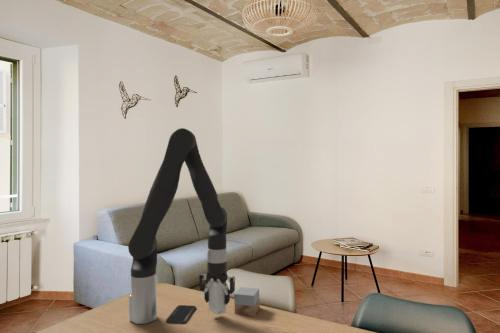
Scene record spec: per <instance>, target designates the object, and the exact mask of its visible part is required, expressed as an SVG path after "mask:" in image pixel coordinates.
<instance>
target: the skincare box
mask: <svg viewBox="0 0 500 333" xmlns="http://www.w3.org/2000/svg"><path fill="white" fill-rule="evenodd" d="M208 283H209V281H208V280H207V284H208ZM223 285H224V286H225V283H224V284H223ZM208 294H209V302H208V310H209V311H210V312H211V313H214V314H215V315H216V316H219V315H222V314H226V313H227V307H226V306H227V305H225V293H224V291H223V290H222V288H221V283H220V282H217V281H213V282H212V284H211V286H210V288H209V290H208Z"/></svg>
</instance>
